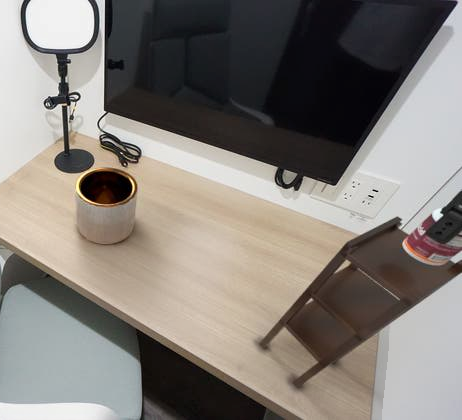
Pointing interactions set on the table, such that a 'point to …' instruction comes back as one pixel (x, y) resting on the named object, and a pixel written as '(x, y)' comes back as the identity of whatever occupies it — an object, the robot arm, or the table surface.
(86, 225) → the planter
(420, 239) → the pill bottle
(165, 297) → the table surface
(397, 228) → the rack
